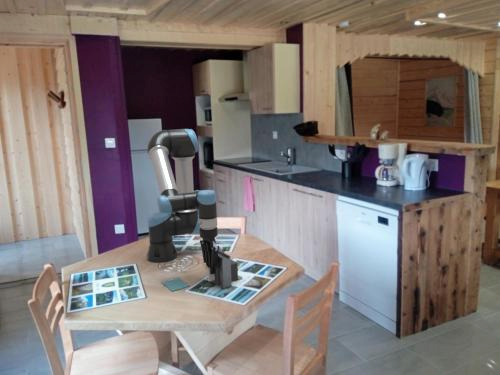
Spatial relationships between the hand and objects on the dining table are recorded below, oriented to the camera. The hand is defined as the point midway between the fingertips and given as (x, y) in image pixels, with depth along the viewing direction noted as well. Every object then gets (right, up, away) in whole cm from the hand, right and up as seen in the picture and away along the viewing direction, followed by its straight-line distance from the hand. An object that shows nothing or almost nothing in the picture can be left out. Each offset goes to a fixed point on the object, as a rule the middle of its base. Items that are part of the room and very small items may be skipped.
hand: (211, 280), depth 177 cm
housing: (+3, -1, +3) cm, 4 cm away
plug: (+6, -1, +4) cm, 7 cm away
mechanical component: (0, +2, +20) cm, 20 cm away
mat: (-15, -2, +1) cm, 16 cm away
